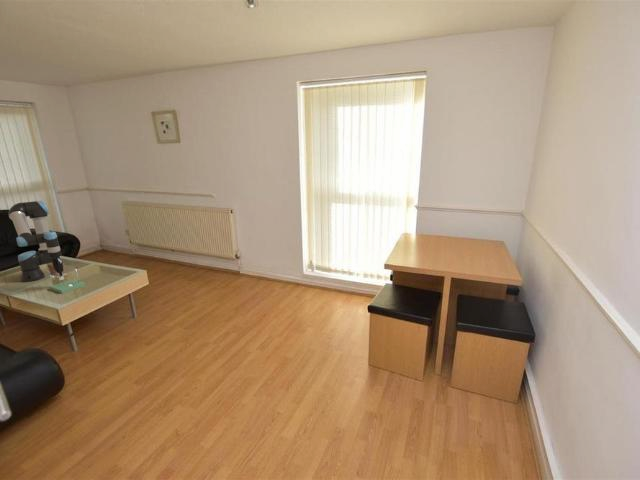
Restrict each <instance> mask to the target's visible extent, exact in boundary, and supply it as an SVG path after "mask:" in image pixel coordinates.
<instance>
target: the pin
mask: <svg viewBox="0 0 640 480" xmlns="http://www.w3.org/2000/svg"><path fill="white" fill-rule="evenodd" d="M74 269H75V273H76V278H77V281H78V282H81V281H80V278H79V275H78V270H79V267H78V265H74Z"/></svg>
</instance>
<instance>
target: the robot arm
mask: <svg viewBox="0 0 640 480" xmlns="http://www.w3.org/2000/svg"><path fill="white" fill-rule="evenodd" d="M49 214H50V211H49V209H48V206H47V204H46V203H45V201H43V200H34V201H27V202H18V203H15V204H14V205H12V206H11V207H10V208H9V210H8V214H7V215H8V218H9V219H10V220H11V221H12V223H13V225H14V229H15V231H16V233H17V237H16V238H15V240H16V243H17V246H18V247H21V248H22V247H29V246H34V245H39V248H38V251H36V250H29V251H26V252H22V253H21V254H18V255H17V259H18V261H17V262H18V263H19V266H20V270H21V276H20V281H21V282H22V283H28V282H35V281H39V280H41V279H43V278H45V277H46V275H45V273H44V271H43V270H42V269H41V267H40V266H44V265H47V264H52V267H53V269H54V271H55V272H56V274H57V277H58V278H57V279H58V280H59V281H62V280H64V279H65V277H64V273H63V272H64V264H63V263H64V261H63V260H62V259H61V256H62V251H61V247H60V243H59V240H58V235H57V233H56V231H50V229H49V225H48V222H47V218H48V215H49ZM26 217H29V219H30V220H32V222H33V226H34V229H35V233H36V234H32V231H31V230H30V227H29V224H28V222H27V220H26Z"/></svg>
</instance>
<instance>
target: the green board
mask: <svg viewBox="0 0 640 480" xmlns="http://www.w3.org/2000/svg"><path fill="white" fill-rule="evenodd" d="M69 284H72V285H73V286H70V287H68V285H69ZM82 287H86V283H85V282H83V281H80V282H78V279H77V280H76V279H68V280H66V281H63V282H59V283H56V284H53V285H50V286H49V287H48V288H49V290H51V291H52V292H53V291H54V292H56V293H59V294H65V293H68V292H71V291H75V290H76V289H80V288H82Z"/></svg>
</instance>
